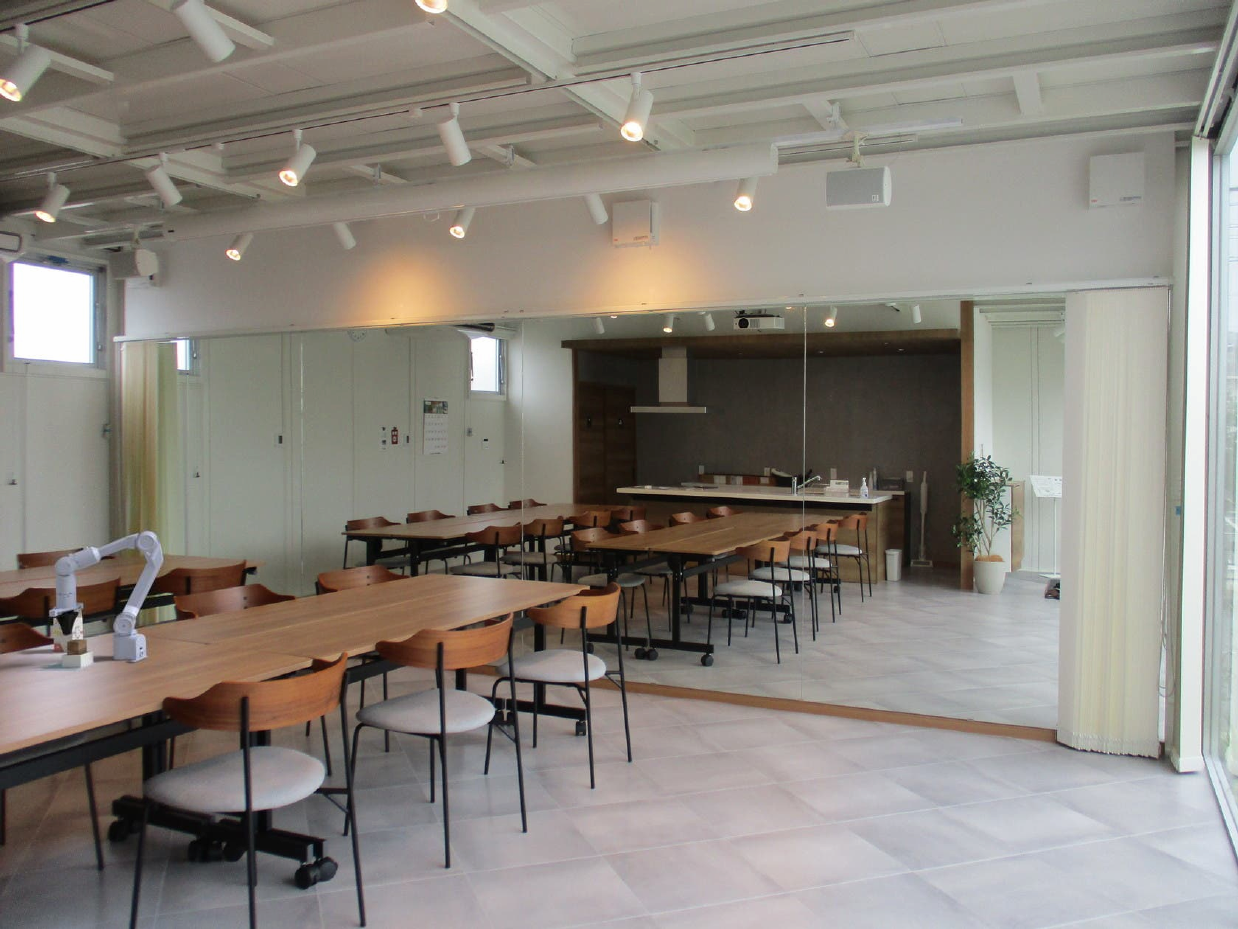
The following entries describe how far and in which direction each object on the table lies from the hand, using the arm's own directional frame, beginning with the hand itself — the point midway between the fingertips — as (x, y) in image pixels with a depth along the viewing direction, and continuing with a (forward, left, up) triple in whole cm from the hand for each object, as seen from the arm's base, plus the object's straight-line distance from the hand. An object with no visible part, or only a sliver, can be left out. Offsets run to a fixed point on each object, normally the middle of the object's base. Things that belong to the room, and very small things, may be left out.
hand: (67, 634), depth 309 cm
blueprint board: (-3, +5, -11) cm, 12 cm away
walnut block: (-5, +3, -7) cm, 9 cm away
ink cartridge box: (+15, -22, -11) cm, 29 cm away
